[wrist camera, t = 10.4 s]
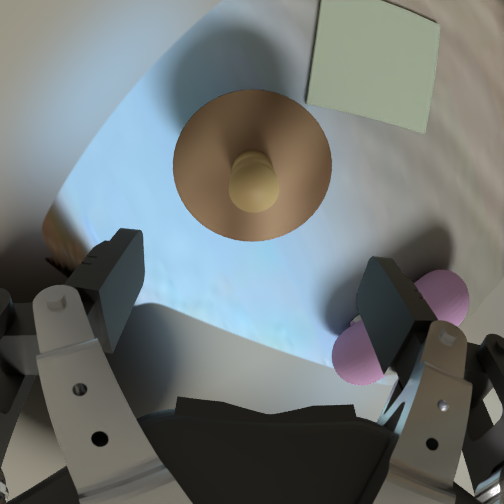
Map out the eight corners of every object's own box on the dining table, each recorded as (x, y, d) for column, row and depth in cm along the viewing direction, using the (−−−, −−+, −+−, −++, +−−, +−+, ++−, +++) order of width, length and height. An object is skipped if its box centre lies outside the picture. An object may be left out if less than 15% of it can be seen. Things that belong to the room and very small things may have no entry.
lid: (340, 104, 21) (369, 109, 16) (312, 243, 27) (327, 282, 22) (182, 83, 20) (161, 80, 15) (173, 228, 26) (155, 265, 21)
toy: (437, 244, 35) (313, 331, 40) (476, 278, 27) (329, 380, 32) (451, 283, 38) (340, 360, 43) (483, 318, 30) (356, 405, 35)
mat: (437, 25, 21) (440, 25, 21) (422, 133, 27) (424, 134, 27) (322, -15, 20) (323, -17, 20) (305, 103, 27) (306, 104, 26)
